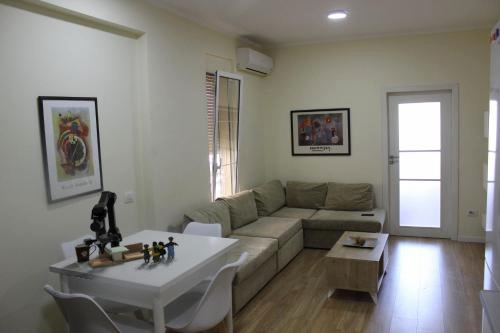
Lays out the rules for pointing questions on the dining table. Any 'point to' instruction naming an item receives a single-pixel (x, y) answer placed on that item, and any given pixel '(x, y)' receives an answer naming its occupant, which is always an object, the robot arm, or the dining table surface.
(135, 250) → the puzzle board
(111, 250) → the sage cover
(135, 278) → the dining table surface
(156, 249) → the doll family
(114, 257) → the cream block
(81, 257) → the coffee mug
